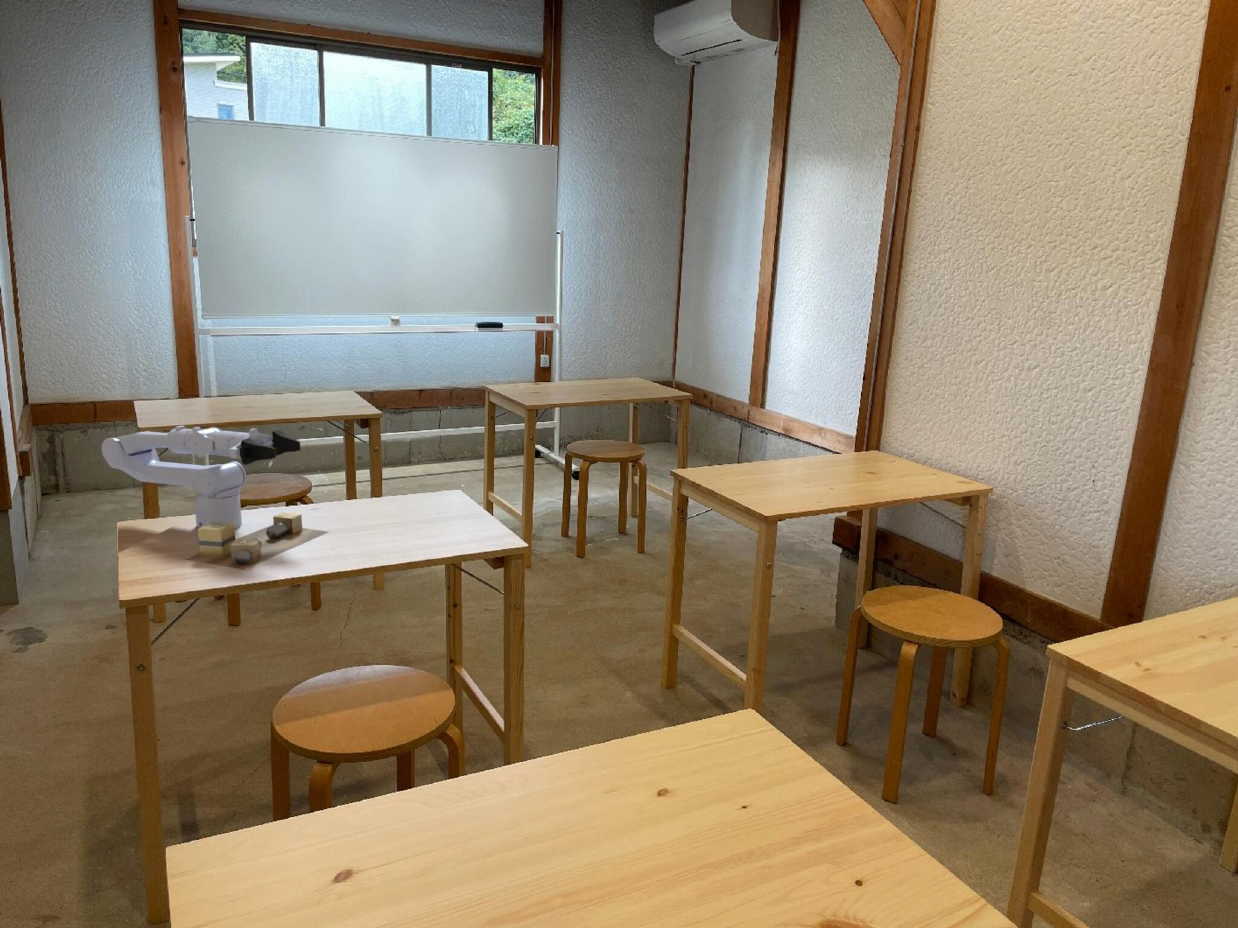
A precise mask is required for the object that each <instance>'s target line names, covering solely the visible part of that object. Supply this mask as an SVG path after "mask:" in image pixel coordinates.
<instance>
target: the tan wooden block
mask: <svg viewBox="0 0 1238 928" xmlns="http://www.w3.org/2000/svg"><path fill="white" fill-rule="evenodd" d="M197 534H198V535H197V536H198V547H199V554H200V557H213V558H224V557H226V556H228V555H229V554H231V550H230V545H231V544H232V543H233V542H234V541H235V539H236V534H235V528H234V523H220V522H210V523H209V524H207V525H205V526H203V527H199V528H197Z"/></svg>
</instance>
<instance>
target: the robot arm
mask: <svg viewBox="0 0 1238 928" xmlns="http://www.w3.org/2000/svg"><path fill="white" fill-rule="evenodd" d="M271 434H272V435H268V434H266V433H265V434H263V433H259V430H258V428H255V427H253V428H250V429H249V430H248V432H244V431H243V432H241V431H230V430H222V429H221V428H219V427H216V426H211V427H209V428H205V429H202V428H201V427H200V426H194V427H192V428H185V425H177V426H176V427H175V428H172V429H171V430H170V431H169V432H157V431H148V430H146V431H137V432H136V433H131V434H126V435H121V436H118V437H117V436H116V437H107V438H106V439H105V440H103V442H102V444H101V454H102V456H103V458H104V459H105V462H106V463H107V464H108V466H109V467H110V468H112V469H117V470H121V471H123V472H124V473H125V474H128V475H129V476H131V477H132V478H134V479H136V480H137V481H139V482H143V483H152V484H153V483H154V484H161V485H171V486H183V487H191V489H192V491H194V492H199V493H200V494H198V496H197V497H196V498H195V501H194V511H195V512H194V513H195V523H196V524H195V525H196V527H199V528H201V527H203V526H205V525H207V524H209V523H210V522H220V523H234V529H236V528H240V527H241V526H242V525H243V522H242V508H241V506H242V505H241V495H240V492H242V491H243V490H242V489H243V488H242V487H243V486H244V485H245V483H246V482H247V481H246V480H247V474H246V470H245V468H244V466H243V465H245V466H247V465H250V464H252V463H256V462H257V461H265V460H272V459H275V458H277V456H280V455H283V454H285V453H293V452H295V453H296V452H298V451H301V442H300V440H298V439H296V438H292V437H290V436H288V435H286V433H285V432H284V431H282V430H279V429H278V430H272V432H271ZM156 448H157V449H158V448H160V449H161V448H167V449H168V450H169V451H170V452H172V453H173V454H190V455H196V456H197V458H203V457H205V456H208V455H212V456H213V455H214V456H220V457H229V458H230V459H240V460H241V463H242V464H243V465H242V464H241V463H240V462H238V461H234V460H233V461H228V462H227V463H224V464H222V463H221V464H219V463H218V464H210V465H204V464H203V465H200V464H190V463H180V462H169V461H160V457H159V454H158V452H157V450H156Z"/></svg>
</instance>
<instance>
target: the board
mask: <svg viewBox="0 0 1238 928" xmlns="http://www.w3.org/2000/svg"><path fill="white" fill-rule="evenodd" d="M273 525H274V523H273V524H271V525H268V526H265V527H263V528H261V529H258V530H256V531H254V532H251V533H249V534H246V535H245V534H244V535H242V536H240V537H239V538H235V540H250V539H252V538H256V539H259V540H260V541H261V544H262V546H261V558H260V559H259V560H258V561H257V563H247V564H245V565H238V564H237V563H231V554H229V555H228V556H226V557H224V558H213V557H200V553H197V554H194V555H192V556H189V557H187V558H185V559H184V560H186V561H190V562H191V561H192V562H197V563H203V564H209V565H216V566H220V567H227V568H231V569H237V570H238V569H239V570H247V569H249V568H251V567H254V566H256V565H258V564H260V563H262V562H264V561H267V560H269V559H271V558H274V557H275V556H278V555H280V554H283V553H284V552H286V551H287V552H288V551H289V550H291V549H295V548H296V547H298V546H300V545H303V544H305V543H307V542H309V541H313V540H314V539H317V538H319V537H321V536H323V535H325V534H326V535H327V533H329V531H326V530H319V529H313V528H305V527H302V531H300V532H298V533H296V534H294V535H290V534H284V535H282V536H280V537H278V538H276V539H270V538H268V536H267V534H266V530H267V529H268V528H269V527H271V526H273Z"/></svg>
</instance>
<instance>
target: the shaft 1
mask: <svg viewBox="0 0 1238 928" xmlns="http://www.w3.org/2000/svg"><path fill="white" fill-rule="evenodd" d="M261 546H262V544H261V541H260V540H259V539H256V538H252V539H250V540H235V541H234V542H233V543H232V544H231V545H230V550H231V563H237V564H238V565H245V564H247V563H257V561H258V560H259V559H260V558H261Z"/></svg>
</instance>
